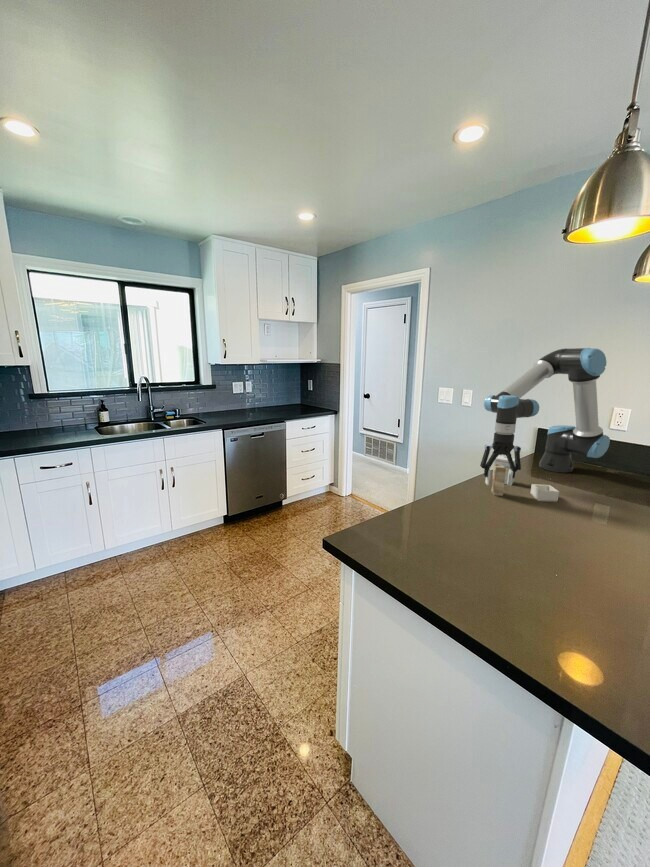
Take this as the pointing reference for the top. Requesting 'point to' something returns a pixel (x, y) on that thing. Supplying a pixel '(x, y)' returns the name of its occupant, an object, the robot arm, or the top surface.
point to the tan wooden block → (498, 480)
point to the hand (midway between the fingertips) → (498, 484)
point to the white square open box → (544, 493)
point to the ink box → (503, 462)
